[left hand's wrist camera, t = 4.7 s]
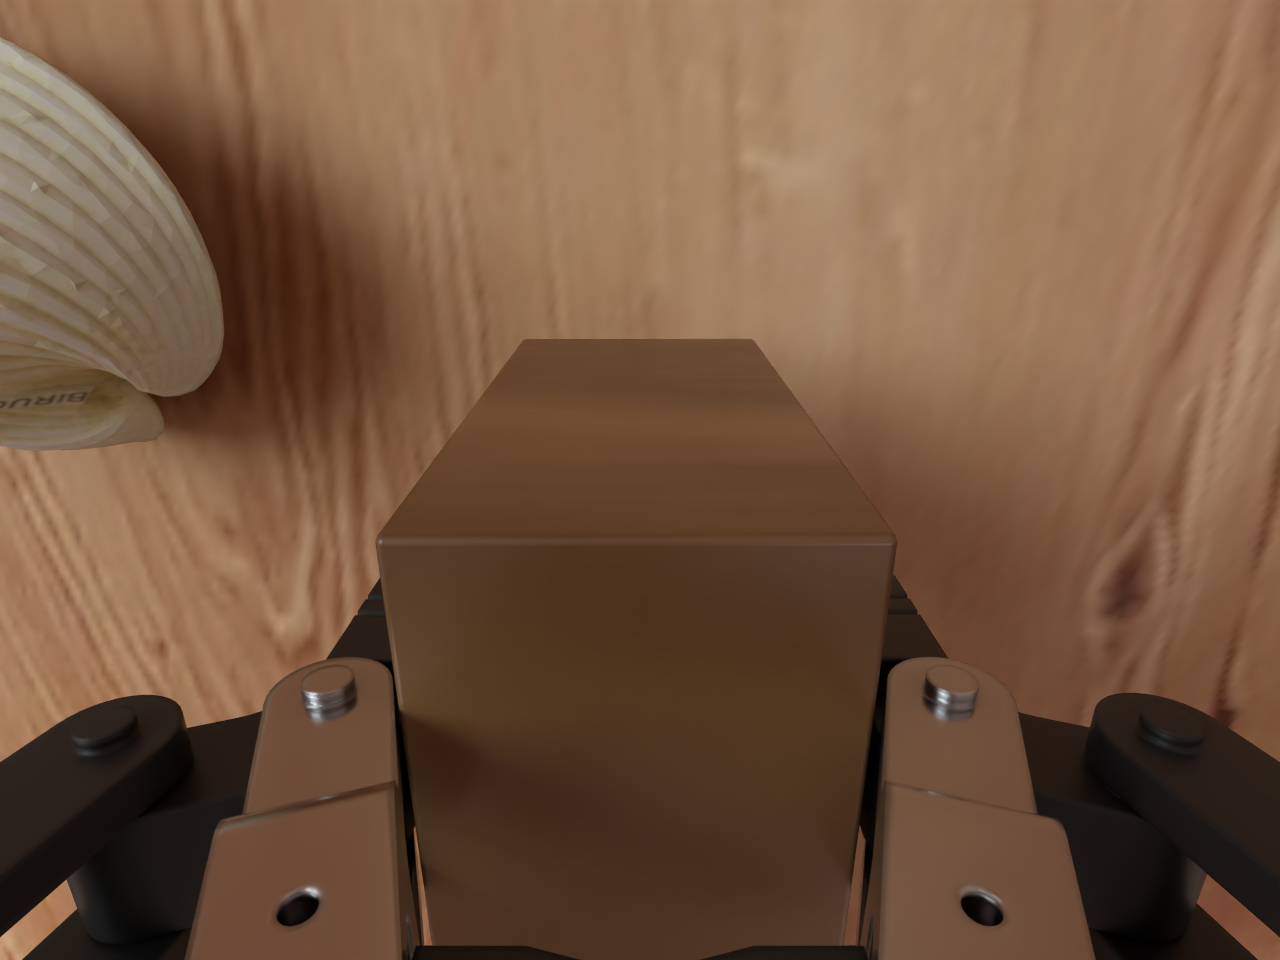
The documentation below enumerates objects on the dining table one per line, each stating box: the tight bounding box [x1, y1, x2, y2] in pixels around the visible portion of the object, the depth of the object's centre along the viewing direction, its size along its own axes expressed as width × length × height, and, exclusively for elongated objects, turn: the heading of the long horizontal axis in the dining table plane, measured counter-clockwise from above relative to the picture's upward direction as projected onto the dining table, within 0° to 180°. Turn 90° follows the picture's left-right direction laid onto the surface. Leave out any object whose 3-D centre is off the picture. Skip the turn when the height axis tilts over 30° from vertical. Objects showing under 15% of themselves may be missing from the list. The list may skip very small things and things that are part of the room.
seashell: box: [0, 38, 224, 450], centre depth 16 cm, size 8×8×8 cm
